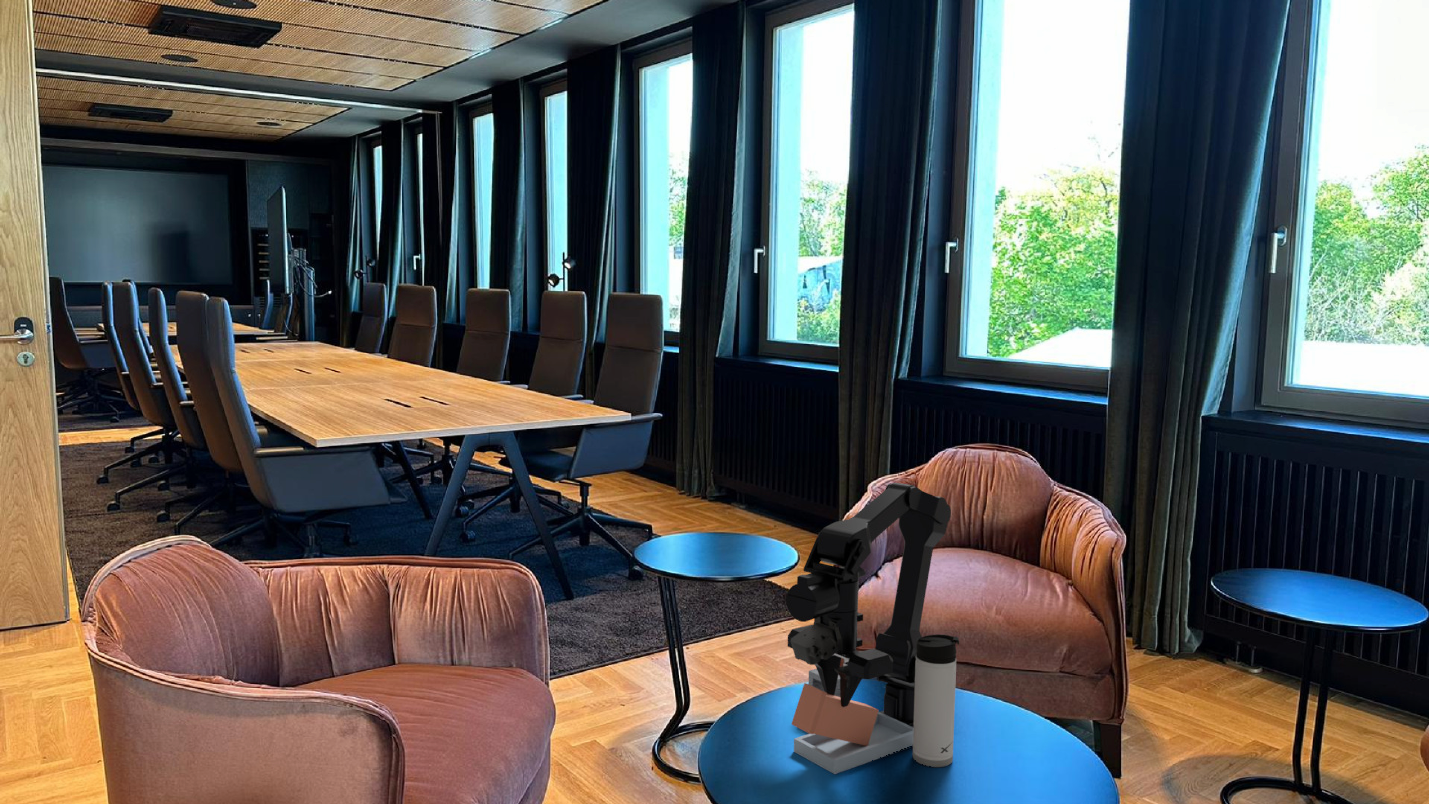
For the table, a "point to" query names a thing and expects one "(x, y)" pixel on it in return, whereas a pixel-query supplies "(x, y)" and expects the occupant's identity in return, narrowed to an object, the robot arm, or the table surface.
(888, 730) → the tray
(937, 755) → the travel mug
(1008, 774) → the table surface
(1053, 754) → the table surface
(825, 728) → the pink curved block
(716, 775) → the table surface
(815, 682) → the bracket
